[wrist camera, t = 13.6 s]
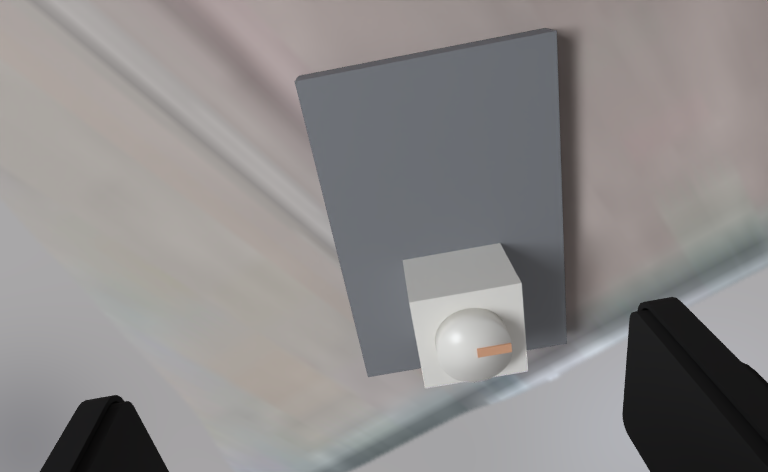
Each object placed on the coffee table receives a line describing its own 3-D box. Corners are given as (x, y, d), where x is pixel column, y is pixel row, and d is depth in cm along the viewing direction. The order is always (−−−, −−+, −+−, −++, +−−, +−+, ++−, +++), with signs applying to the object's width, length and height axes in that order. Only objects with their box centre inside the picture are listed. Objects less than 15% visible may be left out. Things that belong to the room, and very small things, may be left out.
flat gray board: (367, 359, 41) (368, 411, 36) (298, 75, 32) (286, 93, 27) (557, 327, 41) (585, 375, 36) (545, 28, 31) (580, 36, 26)
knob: (417, 338, 38) (427, 405, 32) (402, 260, 35) (411, 317, 29) (507, 323, 38) (535, 387, 32) (499, 243, 35) (529, 297, 29)
